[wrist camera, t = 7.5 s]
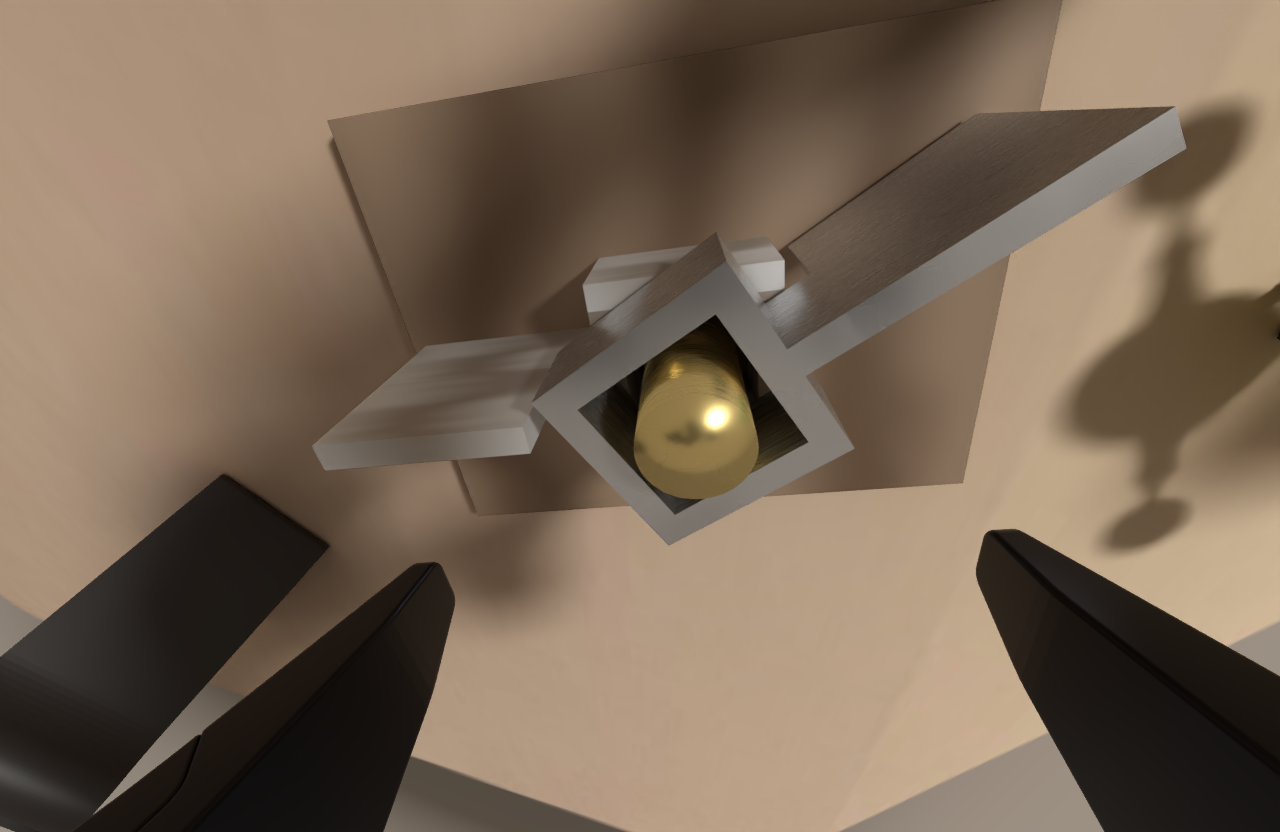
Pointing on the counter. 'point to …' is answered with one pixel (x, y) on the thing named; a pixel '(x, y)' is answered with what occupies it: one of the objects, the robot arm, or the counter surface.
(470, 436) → the hinge board
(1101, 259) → the counter surface
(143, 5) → the counter surface
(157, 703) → the phone stand
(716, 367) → the hinge pin
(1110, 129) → the hinge leaf
